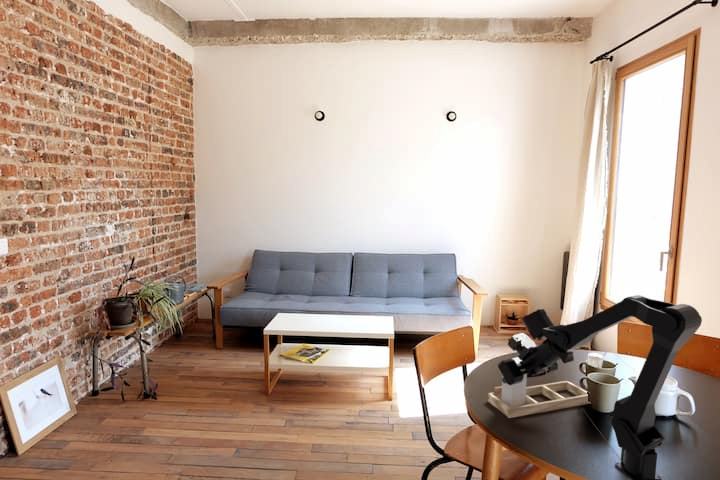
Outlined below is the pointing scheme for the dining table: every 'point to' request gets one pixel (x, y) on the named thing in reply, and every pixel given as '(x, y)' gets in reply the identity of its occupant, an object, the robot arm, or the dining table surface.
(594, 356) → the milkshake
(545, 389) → the organiser
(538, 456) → the dining table surface
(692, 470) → the dining table surface
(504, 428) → the dining table surface
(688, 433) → the dining table surface
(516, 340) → the robot arm
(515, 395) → the pale grey upright block
